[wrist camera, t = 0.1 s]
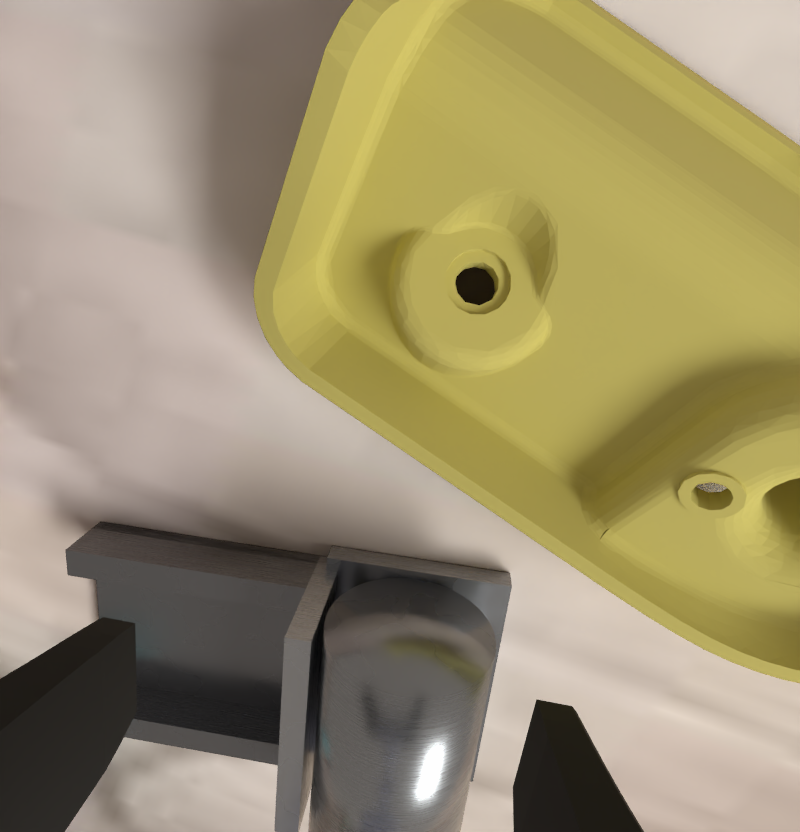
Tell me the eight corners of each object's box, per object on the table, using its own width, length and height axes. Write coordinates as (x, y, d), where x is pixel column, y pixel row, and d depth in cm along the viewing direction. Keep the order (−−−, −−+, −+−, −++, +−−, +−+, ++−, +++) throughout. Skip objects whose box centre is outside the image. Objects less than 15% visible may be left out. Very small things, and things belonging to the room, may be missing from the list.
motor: (467, 786, 24) (468, 962, 18) (114, 723, 25) (10, 870, 19) (509, 572, 20) (526, 706, 15) (99, 509, 21) (-32, 611, 16)
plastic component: (235, 337, 17) (362, -77, 9) (352, 241, 22) (489, -71, 15) (803, 725, 17) (1339, 602, 10) (783, 537, 22) (1121, 369, 15)
